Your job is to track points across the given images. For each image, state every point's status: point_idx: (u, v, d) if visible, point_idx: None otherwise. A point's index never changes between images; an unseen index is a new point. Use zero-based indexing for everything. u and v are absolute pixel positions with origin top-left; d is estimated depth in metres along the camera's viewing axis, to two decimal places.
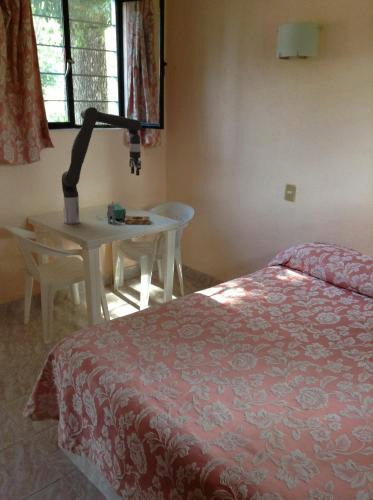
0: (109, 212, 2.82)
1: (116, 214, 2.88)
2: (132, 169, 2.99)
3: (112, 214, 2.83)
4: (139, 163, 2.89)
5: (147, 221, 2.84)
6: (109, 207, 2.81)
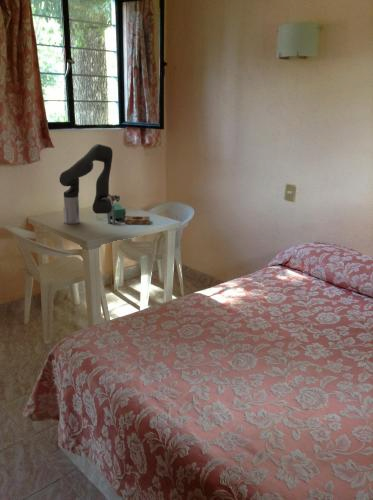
0: None
1: (116, 214, 2.89)
2: None
3: (112, 214, 2.83)
4: None
5: (147, 221, 2.84)
6: None
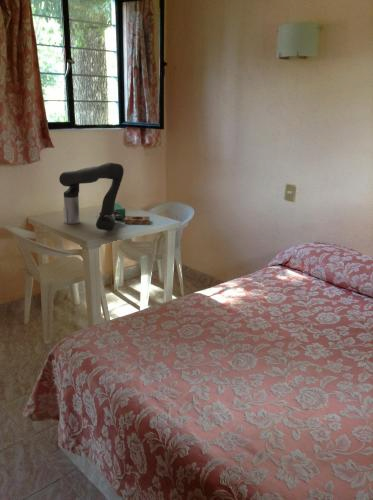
0: None
1: None
2: (114, 212, 2.84)
3: None
4: None
5: (147, 221, 2.84)
6: None
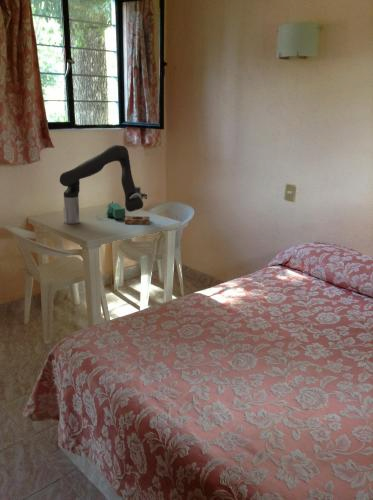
0: None
1: (116, 214, 2.89)
2: (140, 194, 2.83)
3: None
4: None
5: (147, 221, 2.84)
6: None
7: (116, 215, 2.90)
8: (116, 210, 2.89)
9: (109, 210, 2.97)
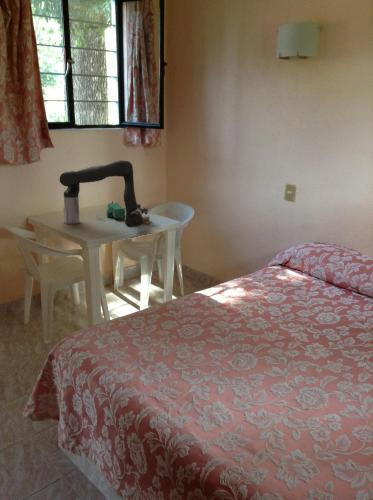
0: None
1: (116, 213, 2.90)
2: None
3: None
4: None
5: (147, 221, 2.84)
6: None
7: (116, 215, 2.90)
8: (116, 210, 2.89)
9: (109, 210, 2.97)
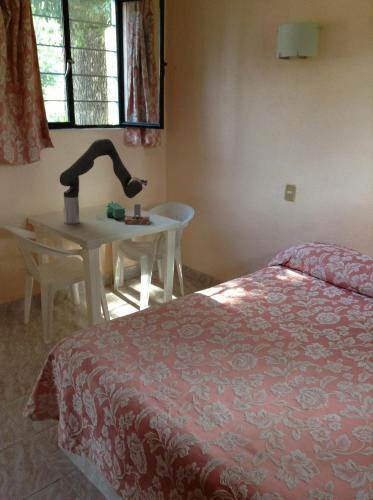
0: (135, 211, 2.85)
1: (115, 213, 2.90)
2: (142, 181, 2.67)
3: (138, 213, 2.85)
4: None
5: (147, 221, 2.84)
6: (135, 206, 2.84)
7: (116, 215, 2.90)
8: (116, 210, 2.89)
9: (109, 210, 2.98)
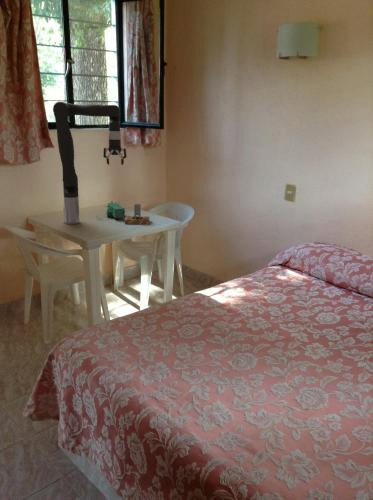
0: (135, 211, 2.85)
1: (115, 213, 2.90)
2: (121, 160, 2.75)
3: (138, 213, 2.85)
4: (104, 151, 2.72)
5: (147, 221, 2.84)
6: (135, 206, 2.84)
7: (116, 215, 2.91)
8: (116, 210, 2.90)
9: (109, 210, 2.98)
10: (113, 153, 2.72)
